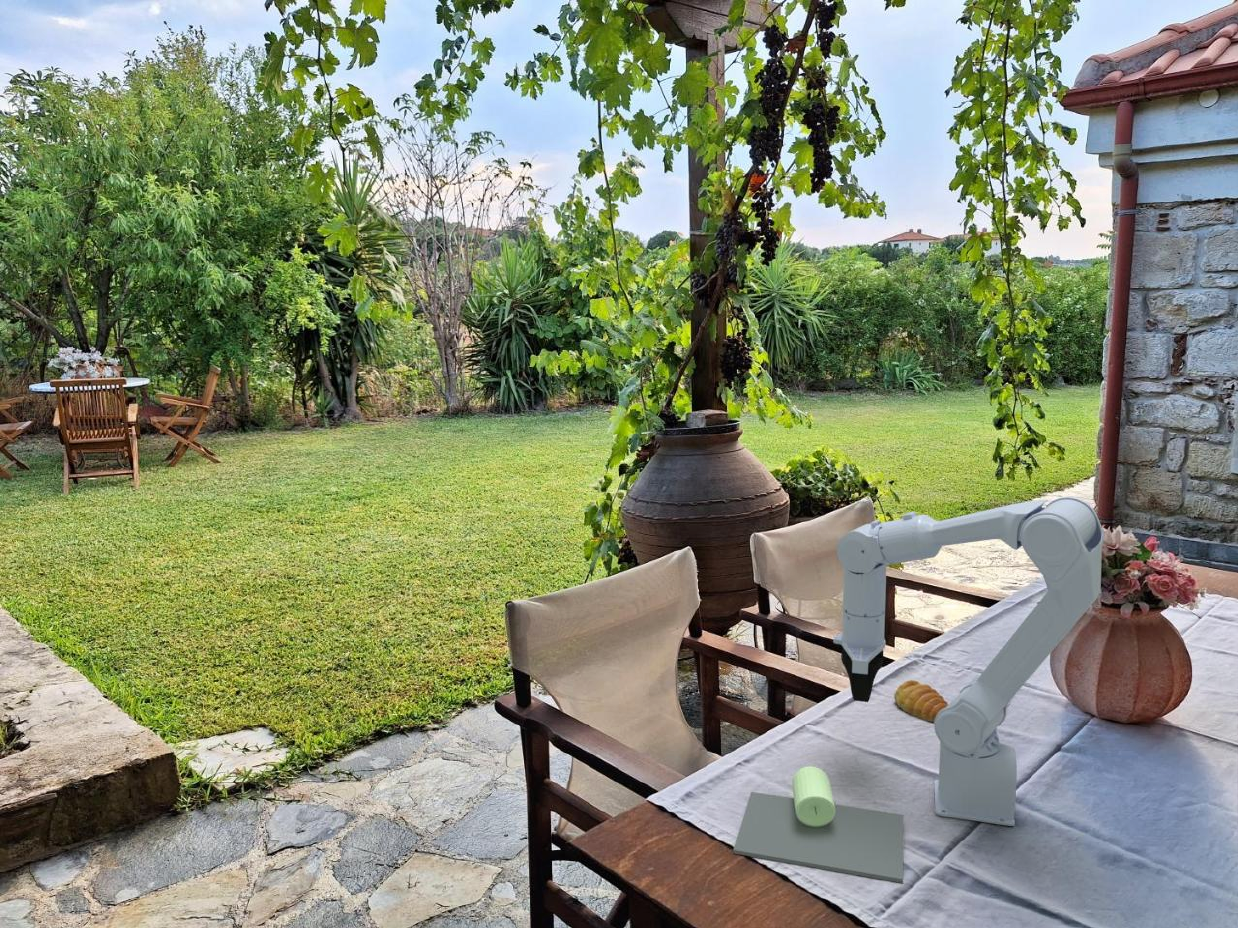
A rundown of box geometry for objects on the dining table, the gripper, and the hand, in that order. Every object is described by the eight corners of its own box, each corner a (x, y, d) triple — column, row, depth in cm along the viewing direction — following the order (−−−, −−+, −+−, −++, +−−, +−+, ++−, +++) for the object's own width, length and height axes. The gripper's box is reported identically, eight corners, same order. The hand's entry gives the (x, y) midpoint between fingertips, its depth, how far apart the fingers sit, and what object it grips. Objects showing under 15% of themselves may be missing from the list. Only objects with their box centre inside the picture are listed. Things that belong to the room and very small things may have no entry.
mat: (903, 817, 112) (903, 814, 112) (902, 882, 100) (902, 879, 100) (751, 794, 118) (751, 791, 118) (733, 853, 106) (733, 849, 106)
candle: (832, 799, 116) (838, 832, 108) (794, 801, 117) (798, 834, 109) (827, 764, 116) (833, 794, 107) (790, 767, 116) (793, 797, 108)
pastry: (962, 719, 137) (963, 697, 136) (929, 729, 134) (929, 707, 134) (920, 695, 145) (920, 674, 145) (888, 704, 143) (889, 683, 142)
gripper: (838, 589, 128) (836, 674, 131) (830, 626, 114) (828, 719, 117) (887, 593, 126) (884, 679, 128) (885, 631, 112) (881, 726, 115)
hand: (861, 699), depth 123 cm, fingers closed
